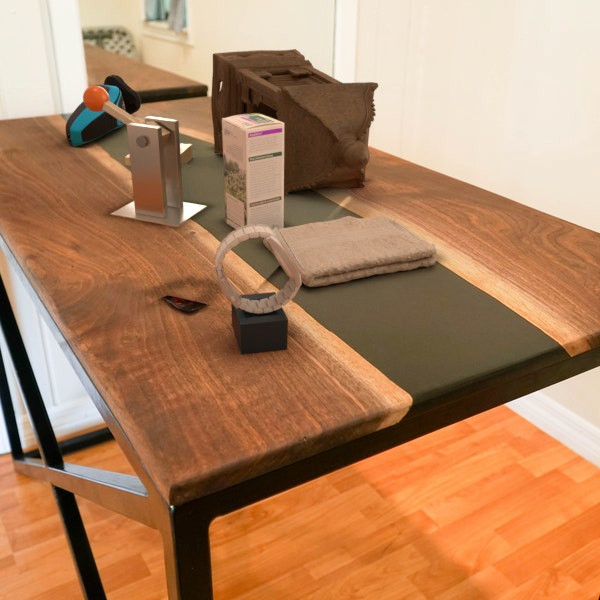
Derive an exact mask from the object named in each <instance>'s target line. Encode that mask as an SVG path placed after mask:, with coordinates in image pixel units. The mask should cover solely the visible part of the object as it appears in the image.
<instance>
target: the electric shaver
mask: <svg viewBox="0 0 600 600" xmlns="http://www.w3.org/2000/svg"><path fill="white" fill-rule="evenodd" d="M93 86H100V87H102V88H103V89H105V90H106V92H107V93H108V95H109V101H110V102H112V103H113V104H115V105H116V106H118V107H119V108H121V109H122V110H124V111H125V112H127V113H129V114H130V115H133V114H135V113H137V112H138V111H139V110H140V108H141V105H142V99H141V97H140V95H139V93H138V92H137V91H136V90H134V89H133V88H132V87H130V86H129V85H128V83H126V82H125V80H124V79H123V78H122V77H121V76H119V75H117V74H111V75H107V77H105V79H104V82H103V84H95V85H93ZM124 125H125V124H124V123H123V122H121V121H120V120H118V119H116V118H115V117H113V116H112V115H110V114H109V113H107V112H106V111H104V110H103V111H101V112H94V111H91V110H89V109H88V108H87V107H86V106H85V104H84V101H83V100H82V102H81V103H79V105H78V106H77V107H76V108H75V109H74V111H73V112H72V114H71V115H70V116H69V117H68V119H67V120H66V123H65V135H66V139H67V142H68V144H69V145H70V146H71V147H73V148H76V147H80V146H82V145H85V144H88V143H90V142H92V141H95V140H97V139H99V138H101V137H103V136H104V135H106V134H108V133H110V132H112V131H115V130H116V129H119V128H121V127H124Z"/></svg>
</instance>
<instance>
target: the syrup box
mask: <svg viewBox="0 0 600 600" xmlns="http://www.w3.org/2000/svg"><path fill="white" fill-rule="evenodd" d="M222 137H223V154H222V160H223V162H222V163H223V189H224V192H223V194H224V213H225V214H224V215H225V216H224V217H225V224H227V225H228V226H230V227H231V228H233V229H234V230H236V229H237V228H240V227H242V226H246V225H250V224H254V225H255V224H265V225H267V226H268V227H270V228H271V229H273V230H274V228H275V227H277V228H278V229H279V228H285V227H284V226H285V223H284V221H285V217H284V216H285V215H284V214H285V212H284V211H285V210H284V209H285V195H284V123H283V122H281V121H278V120H276V119H273V118H270V117H268V116H265V115H262V114H260V113H251V114H241V115H235V116H231V117H227V118H222Z"/></svg>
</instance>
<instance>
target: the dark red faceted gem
mask: <svg viewBox="0 0 600 600" xmlns="http://www.w3.org/2000/svg"><path fill="white" fill-rule="evenodd" d="M160 299H162V300H164V301H166V302H167V303H170V304H172V306H171V307H172V308H175V307H176V308H177V309H180V310H181V311H184V312H187V313H188V312H189V313H190V312H192V311H195V310H197V309H200V308H202V307H205V306H207V305H208V303H205V302H200V301H196V300H191V299H187V298H182V297H177V296H174V295H170V294H169V295H168V294H167V295H165V296H162V297H160V298H158V299H157V301H159V300H160Z"/></svg>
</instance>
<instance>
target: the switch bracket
mask: <svg viewBox="0 0 600 600" xmlns="http://www.w3.org/2000/svg"><path fill="white" fill-rule="evenodd" d="M151 121H154V122H155V123H157V124H158V125H160V126H161V127H158V126H151V125H144V124H146V123H148V122H151ZM179 123H180V122H179V119H174V118H166V117H158V116H152V115H148V116H146V117H144V124H136V123H129V124H127V125H126V133H127V143H128V154H129V155H130V165H131V166H130V174H131V183H132V184H131V185H132V194H133V201H131V202H129V203H127V204H125V205H123V206H121V207H120V208H118V209H117V210H114V211H113V212H111V213H110V216H112V217H116V218H117V217H118V218H121V219H122V218H123V219H127V220H128V219H129V220H134V221H137V222H144V223H150V224H155V225H159V226H165V227H170V228H176V229H178V228H179V227H180V226H182V225H184V224H185V223H187V222H188V221H190V220H191V219H193V218H194V217H195V216H197V215H198V214H200V213H202V212H203V211H205V210H206V209H207V208H208V206H207V205H203V204H197V203H191V202H185V201H184V193H183V192H184V191H183V176H182V163H181V156H180V143H181V141H180V124H179ZM162 127H163V128H164V129H166V130H167V131H169V132H170V134H169V137H168V140H167V143H166V145H165V148H163V140H162Z"/></svg>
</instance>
